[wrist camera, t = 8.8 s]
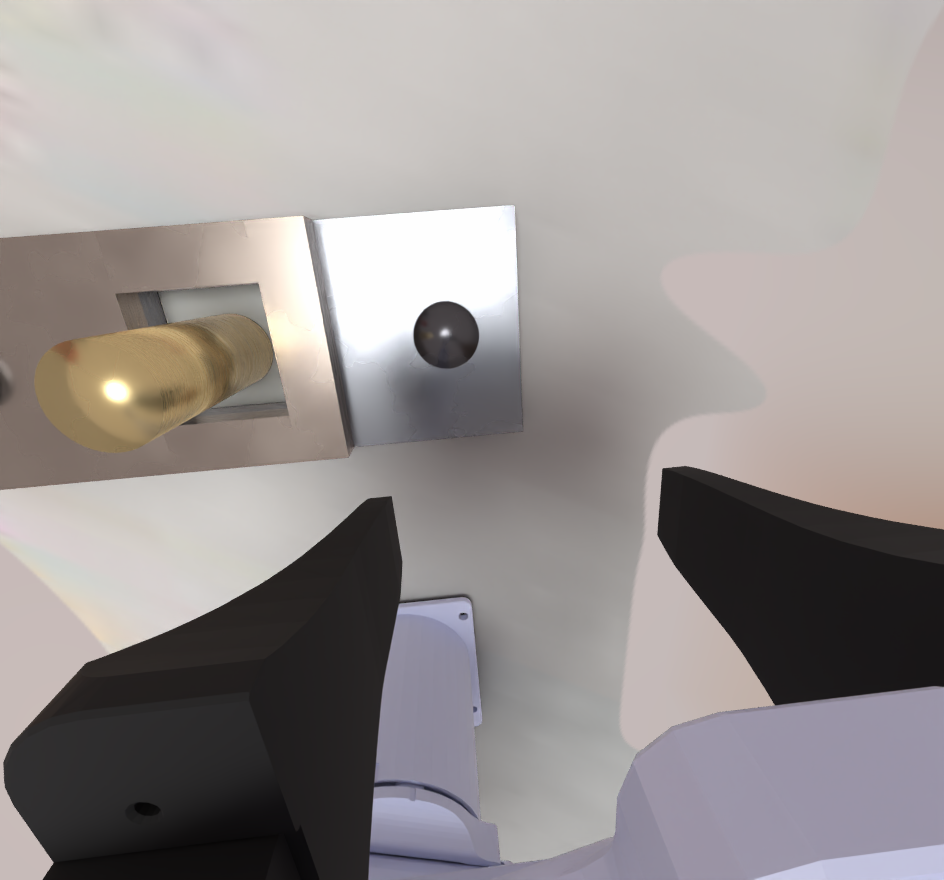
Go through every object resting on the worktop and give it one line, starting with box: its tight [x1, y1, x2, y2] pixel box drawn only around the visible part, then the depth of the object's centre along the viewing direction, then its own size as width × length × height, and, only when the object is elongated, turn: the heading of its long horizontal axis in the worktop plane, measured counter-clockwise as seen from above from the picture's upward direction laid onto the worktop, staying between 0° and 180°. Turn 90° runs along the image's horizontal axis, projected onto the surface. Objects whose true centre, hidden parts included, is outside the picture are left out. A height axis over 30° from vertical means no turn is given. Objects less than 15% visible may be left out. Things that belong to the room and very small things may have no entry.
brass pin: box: [34, 314, 273, 453], centre depth 15 cm, size 3×3×8 cm
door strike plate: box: [0, 205, 523, 490], centre depth 17 cm, size 24×9×3 cm, turn 94°
